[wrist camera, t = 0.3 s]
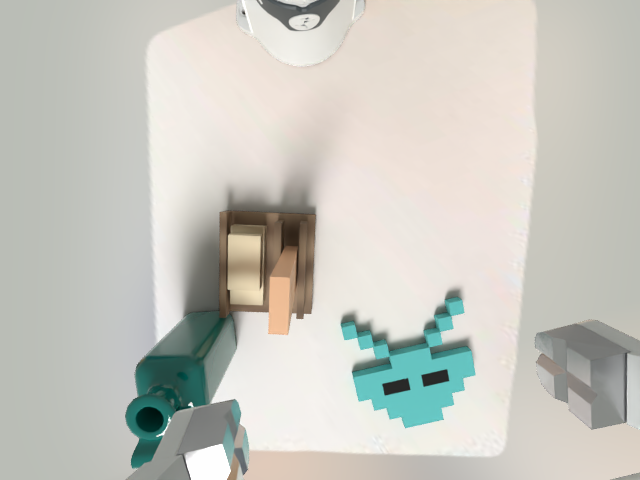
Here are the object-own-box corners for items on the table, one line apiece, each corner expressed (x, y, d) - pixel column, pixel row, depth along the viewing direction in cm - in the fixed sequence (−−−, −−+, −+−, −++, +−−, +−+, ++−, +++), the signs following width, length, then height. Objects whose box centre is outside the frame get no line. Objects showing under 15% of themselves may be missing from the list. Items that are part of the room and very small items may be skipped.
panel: (285, 245, 54) (269, 276, 35) (298, 246, 54) (289, 277, 35) (284, 282, 55) (268, 334, 35) (297, 283, 55) (287, 334, 35)
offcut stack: (234, 224, 54) (226, 227, 49) (266, 225, 54) (262, 229, 49) (233, 299, 55) (226, 309, 50) (265, 300, 56) (260, 310, 51)
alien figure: (340, 322, 58) (365, 428, 61) (341, 327, 56) (367, 436, 59) (456, 296, 58) (475, 402, 61) (462, 300, 56) (481, 410, 59)
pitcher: (181, 312, 57) (100, 387, 35) (233, 308, 57) (183, 381, 35) (188, 367, 58) (114, 472, 37) (238, 364, 59) (194, 466, 37)
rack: (227, 210, 55) (215, 213, 48) (315, 214, 55) (315, 217, 49) (226, 307, 57) (215, 322, 51) (311, 310, 57) (311, 325, 51)
